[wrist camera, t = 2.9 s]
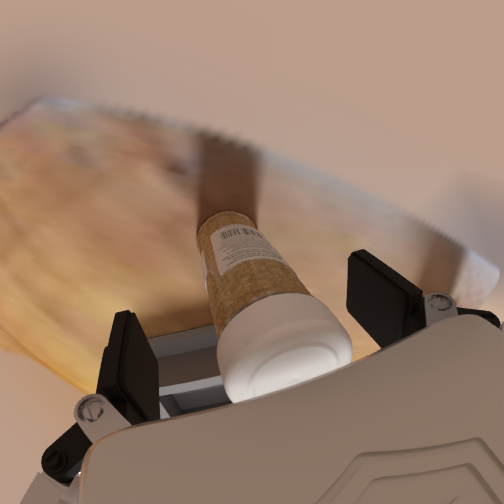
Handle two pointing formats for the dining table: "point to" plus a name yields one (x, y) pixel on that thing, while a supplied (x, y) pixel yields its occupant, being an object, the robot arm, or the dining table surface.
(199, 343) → the bottle stand
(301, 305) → the sprinkles bottle
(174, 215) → the dining table surface
